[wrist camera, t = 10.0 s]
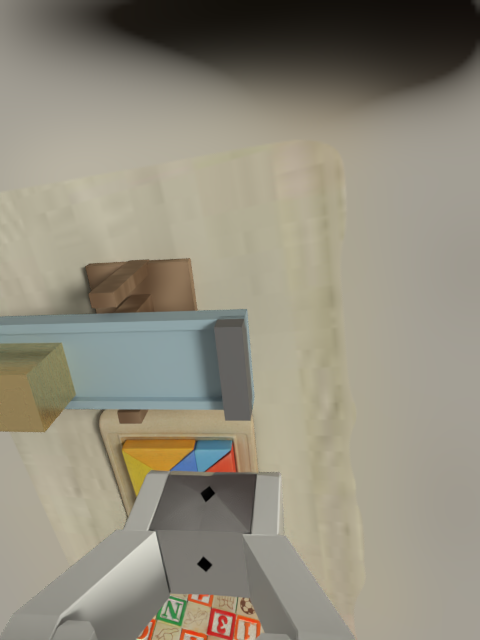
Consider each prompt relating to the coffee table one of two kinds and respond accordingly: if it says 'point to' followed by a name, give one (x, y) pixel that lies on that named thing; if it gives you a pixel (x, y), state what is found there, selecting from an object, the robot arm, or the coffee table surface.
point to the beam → (150, 358)
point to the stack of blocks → (204, 619)
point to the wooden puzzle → (175, 446)
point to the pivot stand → (141, 295)
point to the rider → (33, 385)
